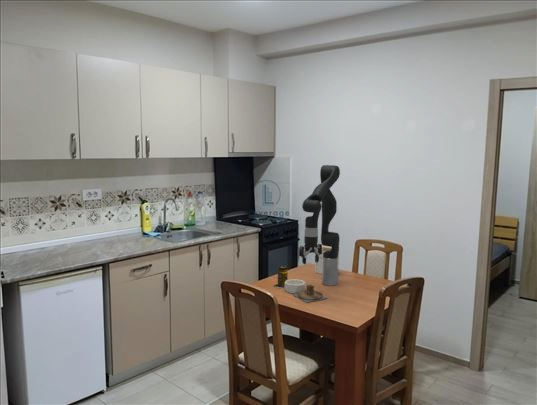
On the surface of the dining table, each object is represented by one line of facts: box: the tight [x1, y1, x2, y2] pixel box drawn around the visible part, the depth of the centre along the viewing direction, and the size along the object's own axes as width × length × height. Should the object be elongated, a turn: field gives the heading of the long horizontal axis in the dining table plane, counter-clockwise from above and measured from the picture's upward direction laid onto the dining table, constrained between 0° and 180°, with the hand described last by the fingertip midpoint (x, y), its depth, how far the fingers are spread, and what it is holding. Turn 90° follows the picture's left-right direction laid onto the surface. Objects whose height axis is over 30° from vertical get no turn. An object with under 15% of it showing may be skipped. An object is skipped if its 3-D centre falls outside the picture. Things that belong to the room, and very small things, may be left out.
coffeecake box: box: [314, 245, 340, 275], centre depth 290 cm, size 15×7×20 cm, turn 52°
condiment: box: [272, 265, 288, 289], centre depth 262 cm, size 7×8×12 cm
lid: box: [298, 284, 323, 300], centre depth 243 cm, size 14×14×6 cm
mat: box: [292, 294, 328, 304], centre depth 244 cm, size 14×14×1 cm
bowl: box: [283, 278, 307, 295], centre depth 255 cm, size 12×12×5 cm
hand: (310, 262), depth 242 cm, fingers open, 8 cm apart
